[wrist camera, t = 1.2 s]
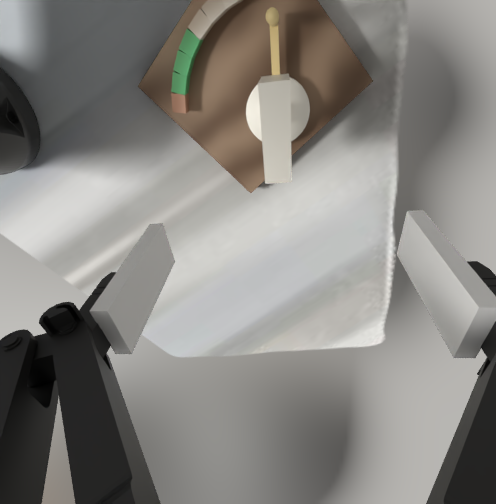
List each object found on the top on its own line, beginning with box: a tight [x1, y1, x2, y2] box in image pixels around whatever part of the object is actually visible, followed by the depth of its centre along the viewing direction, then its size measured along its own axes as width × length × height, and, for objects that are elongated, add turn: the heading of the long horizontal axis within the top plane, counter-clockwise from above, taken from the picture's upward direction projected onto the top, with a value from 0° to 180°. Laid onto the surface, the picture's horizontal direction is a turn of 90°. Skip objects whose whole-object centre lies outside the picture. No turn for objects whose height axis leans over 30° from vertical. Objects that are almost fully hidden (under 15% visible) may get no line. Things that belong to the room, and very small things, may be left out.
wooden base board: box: [138, 0, 373, 193], centre depth 32 cm, size 18×18×4 cm
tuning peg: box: [246, 7, 310, 184], centre depth 27 cm, size 7×12×11 cm, turn 6°
